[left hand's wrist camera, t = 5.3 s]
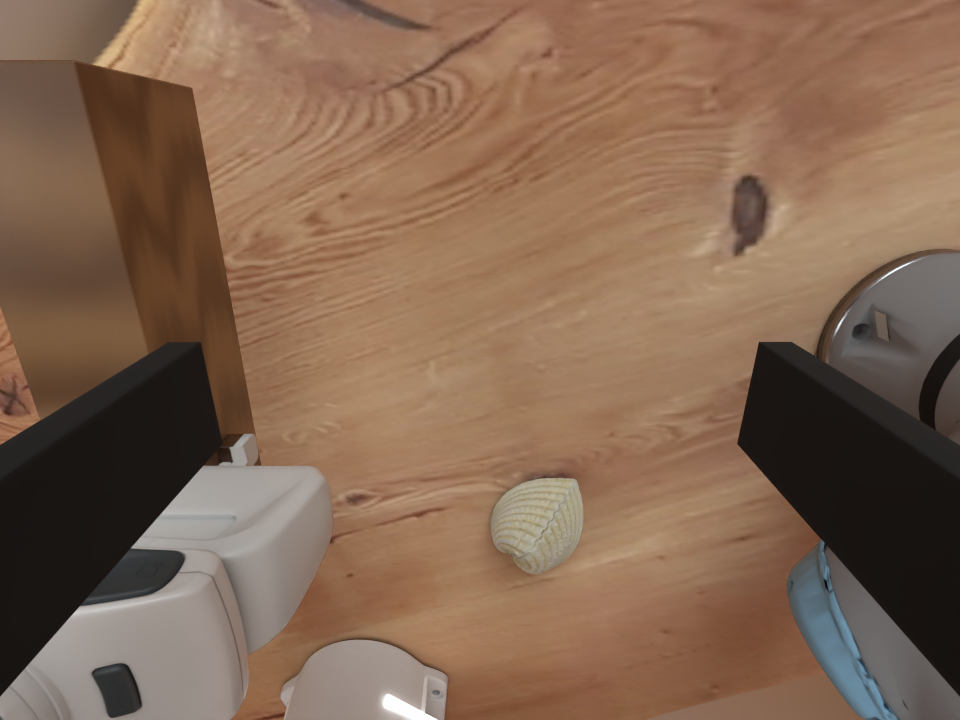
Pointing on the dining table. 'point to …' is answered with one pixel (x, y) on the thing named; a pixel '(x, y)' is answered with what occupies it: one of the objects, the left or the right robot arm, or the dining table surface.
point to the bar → (109, 233)
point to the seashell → (539, 523)
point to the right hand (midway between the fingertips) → (184, 443)
